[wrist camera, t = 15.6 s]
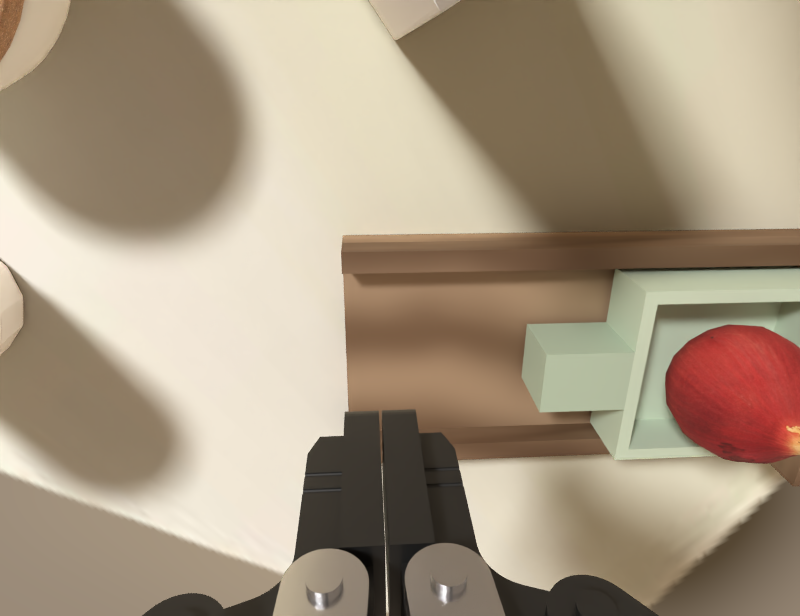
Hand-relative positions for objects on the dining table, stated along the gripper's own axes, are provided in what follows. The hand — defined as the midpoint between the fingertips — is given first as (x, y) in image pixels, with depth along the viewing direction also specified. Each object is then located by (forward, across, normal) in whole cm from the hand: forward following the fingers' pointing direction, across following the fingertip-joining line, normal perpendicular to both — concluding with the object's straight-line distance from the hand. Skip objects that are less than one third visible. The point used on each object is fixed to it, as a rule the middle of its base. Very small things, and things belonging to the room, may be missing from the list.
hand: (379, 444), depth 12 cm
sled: (+15, -14, +6) cm, 21 cm away
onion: (+14, -16, +6) cm, 22 cm away
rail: (+16, -10, +6) cm, 20 cm away
